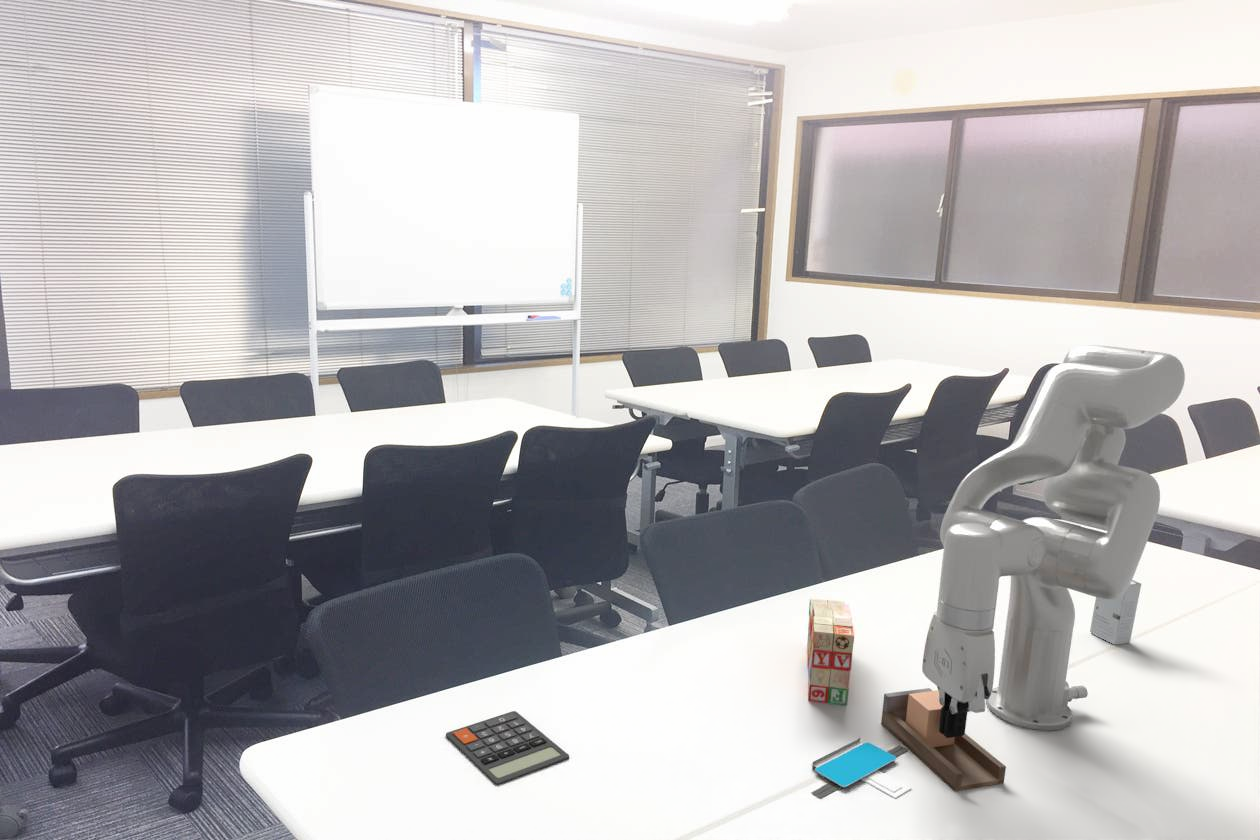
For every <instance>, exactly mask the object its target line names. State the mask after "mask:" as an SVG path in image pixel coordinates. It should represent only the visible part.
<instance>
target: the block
mask: <svg viewBox="0 0 1260 840" xmlns="http://www.w3.org/2000/svg"><path fill="white" fill-rule="evenodd" d="M942 707H943V706H941V704H940V702H939V691H938V689H936V690H932V691H928V692H920V693H912V694H909V696H908V705H907V715H906V724H907V725H908V726H909V727H910V728H912V729H913V730H914V731H915V732H916V733H917V734H918V735H920V736H921V737H922V738H923V739H924V740H925V741H926V742H928V743H929V744H930V745H931V746H932V747H939V746H946V745H953V744H954V740H955V737H951V738H946V737H945V736H944V734H941V733H940V732H939V726H940V717H941V708H942Z"/></svg>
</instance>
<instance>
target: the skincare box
mask: <svg viewBox="0 0 1260 840" xmlns="http://www.w3.org/2000/svg"><path fill="white" fill-rule="evenodd" d="M1141 587H1142V582H1139V581H1137V580H1135V579H1132V581H1131V583H1130V585H1129V587H1128V588H1127V590H1126V591H1125V593H1124V594H1123V595H1122V596H1120V597H1119V598H1116V599H1110V600H1109V599H1102V598H1098V597H1095V601H1094V607H1093V613H1092V617H1091V624H1090V628H1089V633H1090V632H1091V633H1090V634H1092V635H1094V636H1096V637H1098V638H1099V639H1102V640H1103V639H1104V640H1103V641H1105V640H1106V641H1105V642H1108V643H1109V642H1110V644H1111V643H1112V645H1124V644H1128V643H1130V642H1131V639H1132V634H1133V629H1134V623H1135V619H1136V612H1137V609H1138V602H1139V599H1140V593H1141Z"/></svg>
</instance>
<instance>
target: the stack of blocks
mask: <svg viewBox="0 0 1260 840" xmlns="http://www.w3.org/2000/svg"><path fill="white" fill-rule="evenodd" d="M808 606H809V607H808V609H809V610H808V628H807V629H808V630H807V631H808V633H807V643H806V644H807V648H806V649H807V651H806V655H807V657H806V658H807V662H806V665H807V677H808V678H807V679H808V680H807V701H808V702H812V703H819V704H820V703H822V704H830V705H832V704H833V705H840V706H848V700H849V692H850V688H849V686H850V677H851V675H850V674H851V671H852V663H853V662H852V661H853V652H854V651H853V650H854V642H855V633H854V624H853V618H852V613H851V609H850V605H849V604H845V601H843V600H833V599H820V598H812V597H810V598H809V605H808Z"/></svg>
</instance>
